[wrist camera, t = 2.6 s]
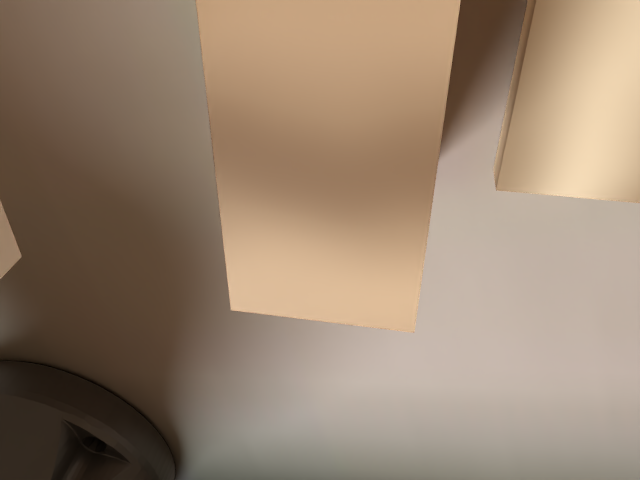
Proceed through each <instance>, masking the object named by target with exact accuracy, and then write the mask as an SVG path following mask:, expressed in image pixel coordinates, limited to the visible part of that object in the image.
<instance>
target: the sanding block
mask: <svg viewBox="0 0 640 480" xmlns="http://www.w3.org/2000/svg"><path fill="white" fill-rule="evenodd" d="M460 2H461V0H196V7H197V16H198V25H199V33H200V42H201V51H202V60H203V69H204V77H205V86H206V95H207V104H208V113H209V121H210V130H211V139H212V148H213V157H214V165H215V174H216V183H217V192H218V201H219V209H220V218H221V227H222V236H223V245H224V253H225V262H226V271H227V280H228V289H229V297H230V306H231V310H233V311H241V312H250V313H258V314H266V315H274V316H282V317H290V318H299V319H307V320H315V321H323V322H331V323H339V324H348V325H356V326H364V327H372V328H380V329H389V330H397V331H405V332H413V333H414V330H415V323H416V316H417V309H418V302H419V295H420V287H421V280H422V273H423V266H424V259H425V252H426V245H427V237H428V230H429V223H430V216H431V209H432V202H433V195H434V187H435V180H436V173H437V166H438V159H439V152H440V144H441V137H442V130H443V123H444V116H445V109H446V102H447V94H448V87H449V80H450V73H451V66H452V59H453V52H454V44H455V37H456V30H457V23H458V16H459V9H460Z"/></svg>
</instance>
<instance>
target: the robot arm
mask: <svg viewBox="0 0 640 480" xmlns="http://www.w3.org/2000/svg"><path fill="white" fill-rule="evenodd" d="M21 257H22V256H21V253H20V250H19V248H18V245H17V243H16V240H15V237H14V235H13V232H12V229H11V227H10V224H9V221H8V219H7V216H6V214H5V211H4V208H3V206H2V203H1V200H0V279H1V278H2V277H3V276H4V275H5V274H6V273H7V272H8V271H9V270H10V269H11V268H12V266H13V265H14V264H15V263H16V262H17V261H18V260H19V259H20V258H21ZM174 478H175V465H174V461H173V457H172V455H171V452H170V450H169V448H168V446H167V444H166V443H165V441H164V439H163V438H162V437H161V435H160V434H159V433H158V432H157V430H156V429H155V428H154V427H153V426H152V425H151V424H150V423H149V422H148V421H147V420H146V419H145V418H144V417H143V416H142V415H141V414H140V413H139V412H137V411H136V410H135V409H134V408H132V407H131V406H130V405H128V404H127V403H126V402H124V401H123V400H121V399H120V398H118V397H117V396H115V395H114V394H112V393H110V392H108V391H107V390H105V389H103V388H101V387H99V386H97V385H95V384H94V383H91V382H89V381H87V380H85V379H83V378H80V377H78V376H75V375H73V374H70V373H67V372H64V371H61V370H58V369H55V368H51V367H47V366H43V365H38V364H33V363H27V362H19V361H0V480H174Z"/></svg>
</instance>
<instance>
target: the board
mask: <svg viewBox="0 0 640 480" xmlns="http://www.w3.org/2000/svg"><path fill="white" fill-rule="evenodd" d="M493 171H494V178H495V185H496V190H498V191H509V192H521V193H532V194H543V195H554V196H566V197H577V198H588V199H599V200H611V201H622V202H633V203H640V0H528V1H527V6H526V11H525V16H524V20H523V25H522V30H521V35H520V40H519V45H518V50H517V55H516V60H515V65H514V70H513V75H512V79H511V84H510V89H509V94H508V99H507V104H506V109H505V114H504V119H503V124H502V129H501V134H500V138H499V143H498V148H497V153H496V158H495V163H494V168H493Z"/></svg>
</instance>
